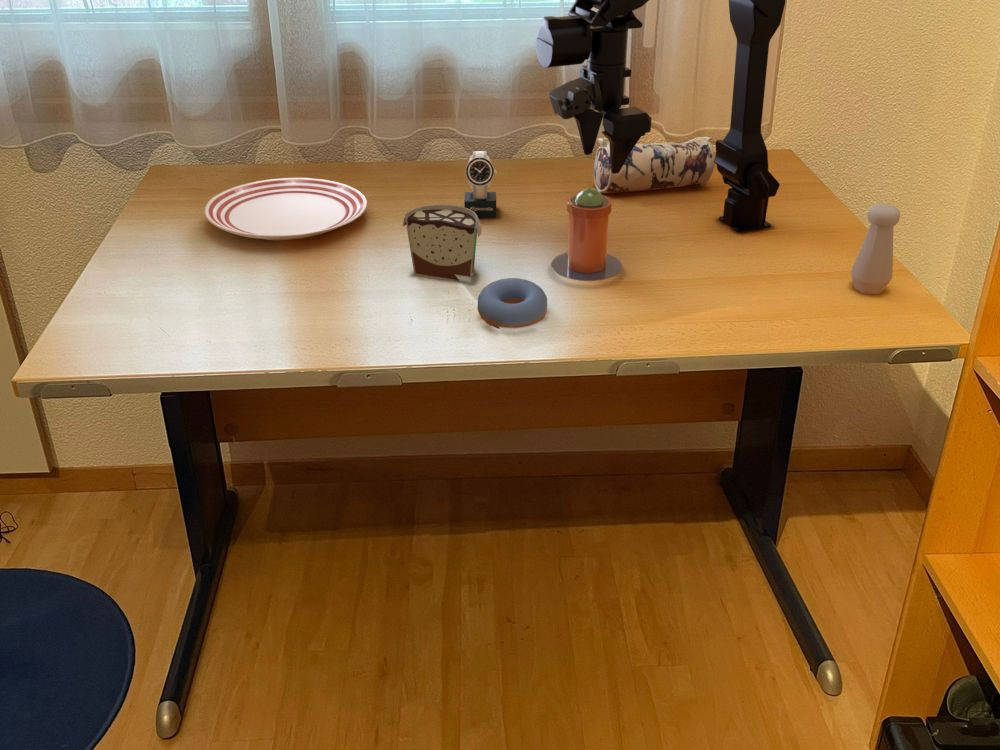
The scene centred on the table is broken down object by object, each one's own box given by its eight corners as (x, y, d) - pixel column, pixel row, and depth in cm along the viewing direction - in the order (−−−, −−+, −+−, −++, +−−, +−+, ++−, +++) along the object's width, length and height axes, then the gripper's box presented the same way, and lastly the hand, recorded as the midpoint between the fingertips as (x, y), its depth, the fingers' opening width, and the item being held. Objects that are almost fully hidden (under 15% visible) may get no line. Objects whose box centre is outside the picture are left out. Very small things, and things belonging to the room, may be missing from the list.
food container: (493, 268, 154) (493, 208, 149) (480, 285, 149) (479, 223, 144) (421, 257, 157) (418, 199, 152) (405, 273, 153) (401, 213, 147)
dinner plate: (327, 181, 187) (326, 164, 185) (395, 229, 168) (394, 210, 166) (185, 212, 174) (182, 194, 173) (241, 267, 155) (238, 248, 153)
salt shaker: (891, 298, 145) (909, 216, 138) (850, 295, 146) (867, 213, 139) (885, 281, 149) (903, 200, 143) (846, 278, 150) (862, 198, 144)
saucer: (601, 252, 159) (601, 245, 158) (634, 280, 150) (635, 273, 150) (539, 263, 155) (539, 257, 155) (569, 293, 147) (569, 285, 146)
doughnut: (524, 341, 134) (524, 312, 132) (463, 323, 139) (462, 294, 136) (559, 312, 141) (560, 284, 139) (501, 296, 146) (500, 268, 144)
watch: (464, 222, 170) (463, 161, 164) (465, 205, 177) (463, 145, 171) (497, 222, 170) (496, 160, 164) (496, 204, 177) (495, 145, 171)
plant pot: (595, 253, 156) (599, 178, 149) (615, 269, 151) (620, 193, 144) (558, 260, 154) (560, 184, 147) (576, 277, 149) (579, 199, 142)
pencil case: (602, 200, 178) (605, 148, 173) (589, 184, 185) (592, 133, 180) (716, 191, 182) (722, 140, 176) (699, 176, 189) (705, 126, 184)
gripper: (530, 51, 149) (529, 152, 157) (585, 82, 134) (581, 191, 142) (596, 44, 152) (591, 143, 160) (657, 74, 137) (648, 180, 146)
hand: (601, 163), depth 152 cm, fingers open, 9 cm apart
